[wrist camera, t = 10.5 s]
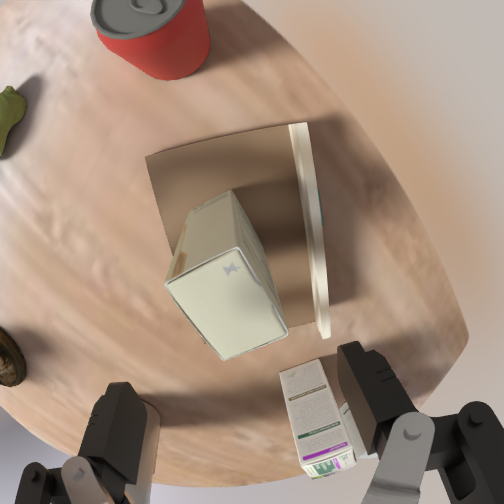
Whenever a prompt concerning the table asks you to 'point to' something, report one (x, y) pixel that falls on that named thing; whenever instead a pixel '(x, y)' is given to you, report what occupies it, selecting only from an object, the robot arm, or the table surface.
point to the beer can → (154, 34)
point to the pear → (10, 112)
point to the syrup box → (316, 421)
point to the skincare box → (225, 280)
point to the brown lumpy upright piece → (10, 361)
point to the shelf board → (257, 206)
